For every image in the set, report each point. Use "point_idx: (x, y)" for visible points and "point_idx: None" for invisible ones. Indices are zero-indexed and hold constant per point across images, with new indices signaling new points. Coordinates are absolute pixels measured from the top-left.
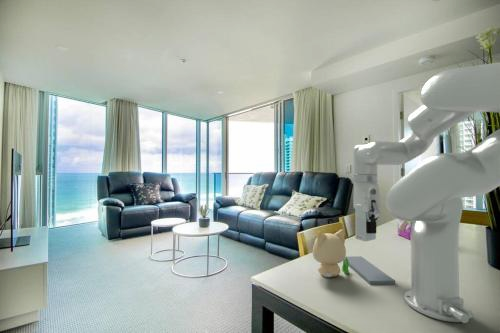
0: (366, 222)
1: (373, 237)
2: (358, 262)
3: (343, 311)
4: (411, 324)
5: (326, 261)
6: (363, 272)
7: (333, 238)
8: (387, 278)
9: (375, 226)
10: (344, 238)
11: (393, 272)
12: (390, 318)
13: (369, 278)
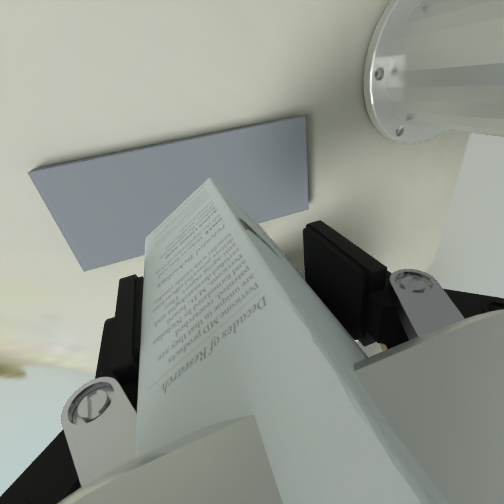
0: (361, 336)
1: (239, 204)
2: (143, 209)
3: None
4: (451, 171)
5: None
6: (248, 212)
7: None
8: (291, 139)
9: (349, 249)
10: None
11: (190, 58)
12: (429, 204)
13: (293, 204)
